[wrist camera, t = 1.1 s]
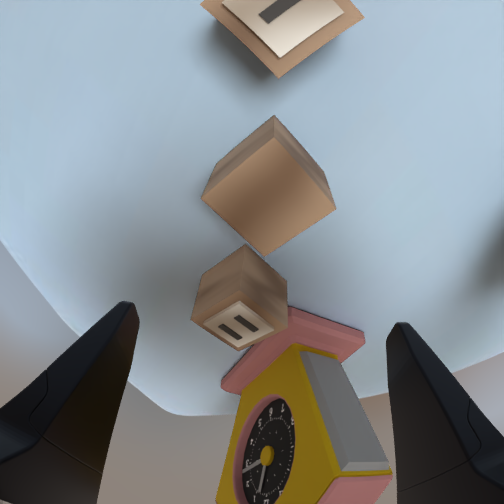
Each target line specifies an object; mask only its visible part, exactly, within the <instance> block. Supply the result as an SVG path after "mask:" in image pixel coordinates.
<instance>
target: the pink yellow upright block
mask: <svg viewBox="0 0 504 504" xmlns="http://www.w3.org/2000/svg"><path fill="white" fill-rule="evenodd" d="M287 308H288V328H286V329H284V330H282V331H280V332H278V333H276V334H274V335H272V336H270V337H268V338H266V339H264V340H262V341H260V342H257V343H255V344H254V345H253V347H252V348H251V349H250V350H249V351H248V352H247V353H246V354H245V356H244V357H243V358H242V359H241V360H240V361H239V362H238V363H237V364H236V365H235V367H234V368H233V369H232V370H231V371H230V372H229V373H228V374H227V375H226V376H225V377H224V378H223V380H222V381H221V388H222V389H223V390H225V391H227V392H230V393H234V394H238V395H241V399H240V403H239V407H238V411H237V415H236V419H235V423H234V428H233V432H232V436H231V440H230V444H229V448H228V452H227V456H226V460H225V464H224V468H223V472H222V475H221V479H220V483H219V487H218V491H217V495H216V503H217V504H374V503H375V502H376V500H377V499H378V498H379V496H380V495H381V493H382V492H383V491H384V490H385V488H386V486H387V485H388V484H389V483H390V481H391V480H392V477H393V475H392V470H391V468H390V466H389V462H388V459H387V457H386V455H385V453H384V451H383V449H382V447H381V445H380V442H379V440H378V438H377V436H376V434H375V432H374V430H373V428H372V426H371V424H370V422H369V420H368V418H367V416H366V414H365V412H364V410H363V408H362V405H361V403H360V401H359V399H358V397H357V395H356V393H355V391H354V389H353V387H352V385H351V383H350V381H349V379H348V377H347V375H346V374H345V372H344V370H343V368H342V366H341V364H340V363H342V362H343V361H344V360H345V359H347V358H348V357H349V356H350V355H352V354H353V353H354V352H355V351H357V350H358V349H359V348H360V347H361V346H363V345H364V344H365V337H364V332H361V331H358V330H355V329H352V328H349V327H346V326H344V325H341V324H338V323H335V322H332V321H329V320H326V319H324V318H321V317H318V316H315V315H312V314H309V313H307V312H304V311H301V310H298V309H296V308H293V307H290V306H289V307H287Z"/></svg>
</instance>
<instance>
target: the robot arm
mask: <svg viewBox="0 0 504 504" xmlns="http://www.w3.org/2000/svg"><path fill="white" fill-rule="evenodd" d="M139 323H140V321H139V317H138V314H137V310H136V307H135V305H134V303H133V302H127V301H121V302H119V303H118V304H117V305H116V306H115V307H114V308H112V309H111V310H110V311H109V312H108V313H107V314H106V315H105V316H103V317H102V318H101V319H100V320H99V321H98V322H97V323H96V324H94V325H93V326H92V327H91V328H90V329H89V330H88V331H87V332H86V333H84V334H83V335H82V336H81V337H80V338H79V339H78V340H77V341H76V342H75V343H73V344H72V345H71V346H70V347H69V348H68V349H67V350H66V351H65V352H64V353H63V354H62V355H60V356H59V357H58V358H57V360H55V361H54V362H53V363H52V364H51V365H50V366H49V367H48V368H47V370H44V371H43V372H42V373H41V374H40V375H39V376H38V377H37V378H36V379H35V380H34V381H33V382H32V383H31V384H29V385H28V386H27V387H26V388H25V389H24V390H23V391H21V392H20V393H19V394H18V395H16V396H15V397H14V398H13V399H11V400H10V401H9V402H8V403H6V404H5V405H4V406H3V407H1V408H0V504H97V498H98V493H99V489H100V484H101V479H102V473H103V469H104V465H105V461H106V457H107V452H108V448H109V444H110V440H111V436H112V432H113V429H114V425H115V421H116V417H117V414H118V410H119V407H120V403H121V399H122V396H123V392H124V389H125V386H126V382H127V379H128V376H129V372H130V369H131V365H132V360H133V354H134V349H135V344H136V339H137V334H138V330H139ZM386 352H387V374H388V389H389V397H390V405H391V413H392V423H393V433H394V445H395V457H396V474H397V475H396V476H397V504H504V437H503V436H502V434H501V433H500V432H499V431H498V430H497V429H496V428H495V427H494V426H493V425H492V423H491V422H490V421H489V420H488V419H487V418H486V416H485V415H484V414H483V413H482V411H481V410H480V409H479V408H478V406H477V405H476V404H475V403H474V401H473V400H472V399H471V398H470V396H469V395H468V394H467V393H466V391H465V390H464V389H463V387H462V386H461V385H460V384H459V382H458V381H457V380H456V378H455V377H454V376H453V375H452V374H451V372H450V371H449V370H448V369H447V367H446V366H445V365H444V364H443V363H442V361H441V360H440V359H439V358H438V357H437V355H436V354H435V353H434V352H433V351H432V349H431V348H430V347H429V346H428V345H427V344H426V342H425V341H424V340H423V339H422V338H421V337H420V335H419V334H418V333H417V332H416V331H415V330H414V329H413V327H412V326H411V325H410V324H409V323H407V322H397V323H396V324H395V325H394V327H393V329H392V330H391V332H390V334H389V335H388V337H387V340H386Z"/></svg>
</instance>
